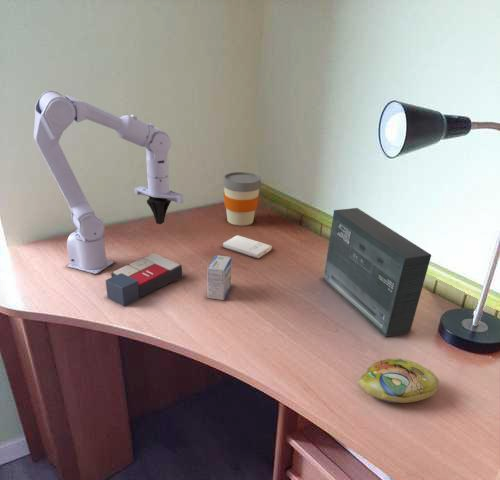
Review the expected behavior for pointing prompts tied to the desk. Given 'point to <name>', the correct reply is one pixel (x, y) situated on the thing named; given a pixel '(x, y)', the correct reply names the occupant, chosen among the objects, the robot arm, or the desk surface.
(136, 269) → the calculator
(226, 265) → the medicine box
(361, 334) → the desk surface
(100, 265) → the robot arm
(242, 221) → the reusable coffee cup
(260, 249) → the hard drive
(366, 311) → the cassette player
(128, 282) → the block
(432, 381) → the cell model
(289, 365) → the desk surface
